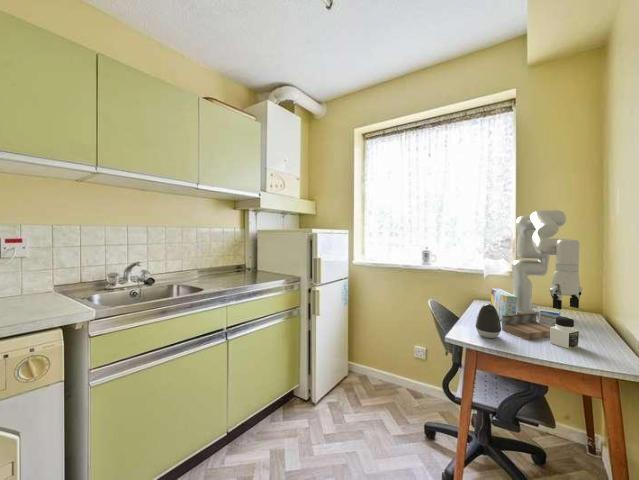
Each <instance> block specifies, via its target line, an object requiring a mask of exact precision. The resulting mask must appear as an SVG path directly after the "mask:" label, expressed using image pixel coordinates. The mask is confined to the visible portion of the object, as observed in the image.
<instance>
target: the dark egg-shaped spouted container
mask: <svg viewBox="0 0 639 480" xmlns="http://www.w3.org/2000/svg"><path fill="white" fill-rule="evenodd" d="M475 329H476V331H477V333H478V335H480V336H481V337H483V338H487V339H495V338H497V337H498V336H499V335H500V333H501V331H502V323H501V320H500V319H499V315H498V312H497V310H496V308H495V307H494V306H493V305H491V303H485V304H483V305H482V306H481V307H480V309H479V312H478V314H477V317H476V320H475Z"/></svg>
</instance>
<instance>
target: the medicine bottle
mask: <svg viewBox="0 0 639 480" xmlns="http://www.w3.org/2000/svg"><path fill="white" fill-rule="evenodd" d="M555 325H556V326H554V327H551V328H550V337H549V344H552V345H554V346H557V347H561V348H564V349H567V350H570V349H574V348H577V347H579V336H580V334H579V332H580V331H579V329H576V328H575V320H574V318H571V317H569V316H563V315H560V316H558V317H556V324H555Z"/></svg>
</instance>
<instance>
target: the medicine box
mask: <svg viewBox="0 0 639 480" xmlns="http://www.w3.org/2000/svg"><path fill="white" fill-rule="evenodd" d="M558 316H561V311H556V310H555V311H554V310H549V309H542V308H541V309H540V310H539V321H538V322H539V323H542V324H545V325H549V326H552V327H554V326H556V325H555V324H556V317H558Z"/></svg>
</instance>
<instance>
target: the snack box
mask: <svg viewBox="0 0 639 480" xmlns="http://www.w3.org/2000/svg"><path fill="white" fill-rule="evenodd" d="M490 304H491V305H493V306H494V307H495V308H496V310H497V312H498V315H499V319H500V322H502V315H510V314H517V313H516V309H517V296H514V295H513V293H510V292H508V291H505V290H503V289H502V288H491V295H490Z"/></svg>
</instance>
